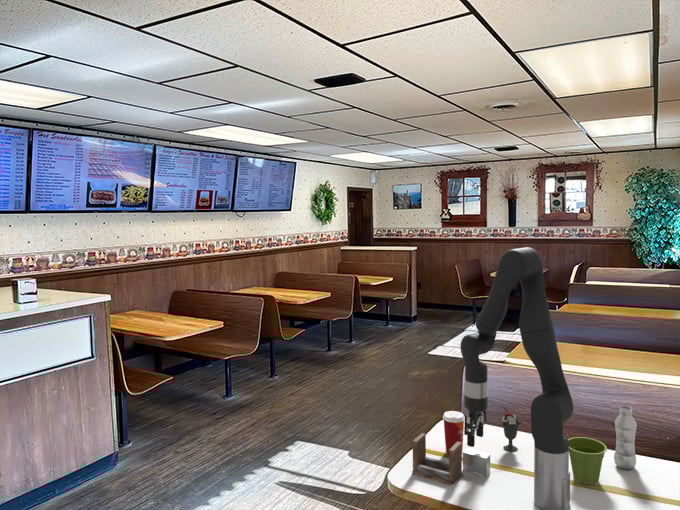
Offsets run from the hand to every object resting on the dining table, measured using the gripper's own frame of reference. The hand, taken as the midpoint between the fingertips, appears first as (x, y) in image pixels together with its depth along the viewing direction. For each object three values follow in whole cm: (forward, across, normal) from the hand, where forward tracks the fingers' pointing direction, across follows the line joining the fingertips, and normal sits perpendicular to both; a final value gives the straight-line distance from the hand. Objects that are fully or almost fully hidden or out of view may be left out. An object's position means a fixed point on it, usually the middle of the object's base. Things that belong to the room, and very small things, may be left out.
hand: (475, 441), depth 171 cm
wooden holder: (+10, -9, +10) cm, 16 cm away
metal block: (+10, 0, 0) cm, 10 cm away
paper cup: (+10, +8, +10) cm, 17 cm away
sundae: (+10, +21, -6) cm, 24 cm away
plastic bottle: (+9, +27, -41) cm, 50 cm away
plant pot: (+10, +12, -32) cm, 35 cm away
